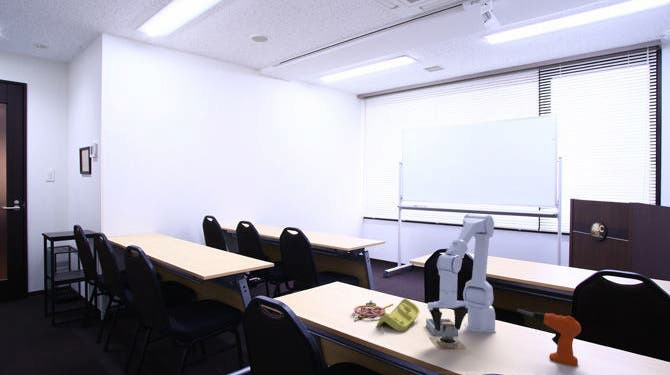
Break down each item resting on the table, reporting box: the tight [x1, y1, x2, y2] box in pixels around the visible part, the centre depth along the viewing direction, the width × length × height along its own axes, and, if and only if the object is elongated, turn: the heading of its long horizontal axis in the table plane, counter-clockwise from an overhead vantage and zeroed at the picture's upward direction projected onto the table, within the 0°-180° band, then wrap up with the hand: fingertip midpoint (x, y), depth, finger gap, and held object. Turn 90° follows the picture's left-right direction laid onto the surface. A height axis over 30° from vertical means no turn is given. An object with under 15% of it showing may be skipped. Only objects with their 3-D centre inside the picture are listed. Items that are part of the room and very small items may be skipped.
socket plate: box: [428, 336, 468, 351], centre depth 129 cm, size 10×10×1 cm
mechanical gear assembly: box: [353, 299, 394, 322], centre depth 161 cm, size 30×4×15 cm
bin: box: [425, 318, 459, 336], centre depth 141 cm, size 9×9×3 cm
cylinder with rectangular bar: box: [440, 321, 455, 343], centre depth 129 cm, size 4×4×7 cm
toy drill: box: [516, 308, 582, 367], centre depth 121 cm, size 5×19×15 cm, turn 54°
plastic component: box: [376, 298, 420, 332], centre depth 149 cm, size 20×7×10 cm
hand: (447, 329), depth 129 cm, fingers open, 7 cm apart
